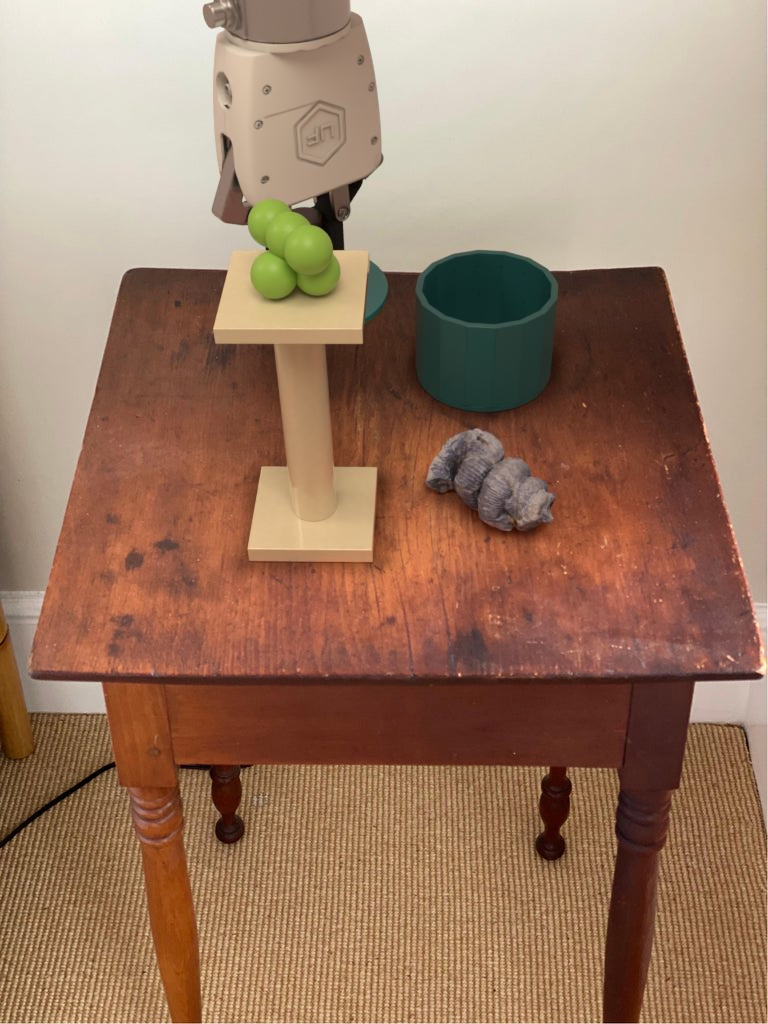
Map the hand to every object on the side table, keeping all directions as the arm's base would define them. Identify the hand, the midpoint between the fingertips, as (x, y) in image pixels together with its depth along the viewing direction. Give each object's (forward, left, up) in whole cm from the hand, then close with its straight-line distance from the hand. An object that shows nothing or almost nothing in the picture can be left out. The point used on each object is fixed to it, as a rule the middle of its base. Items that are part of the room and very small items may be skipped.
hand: (307, 273), depth 79 cm
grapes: (-12, +8, +8) cm, 16 cm away
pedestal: (-12, +8, -10) cm, 17 cm away
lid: (0, 0, -2) cm, 2 cm away
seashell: (-18, -2, -10) cm, 21 cm away
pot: (-6, -11, -10) cm, 16 cm away
